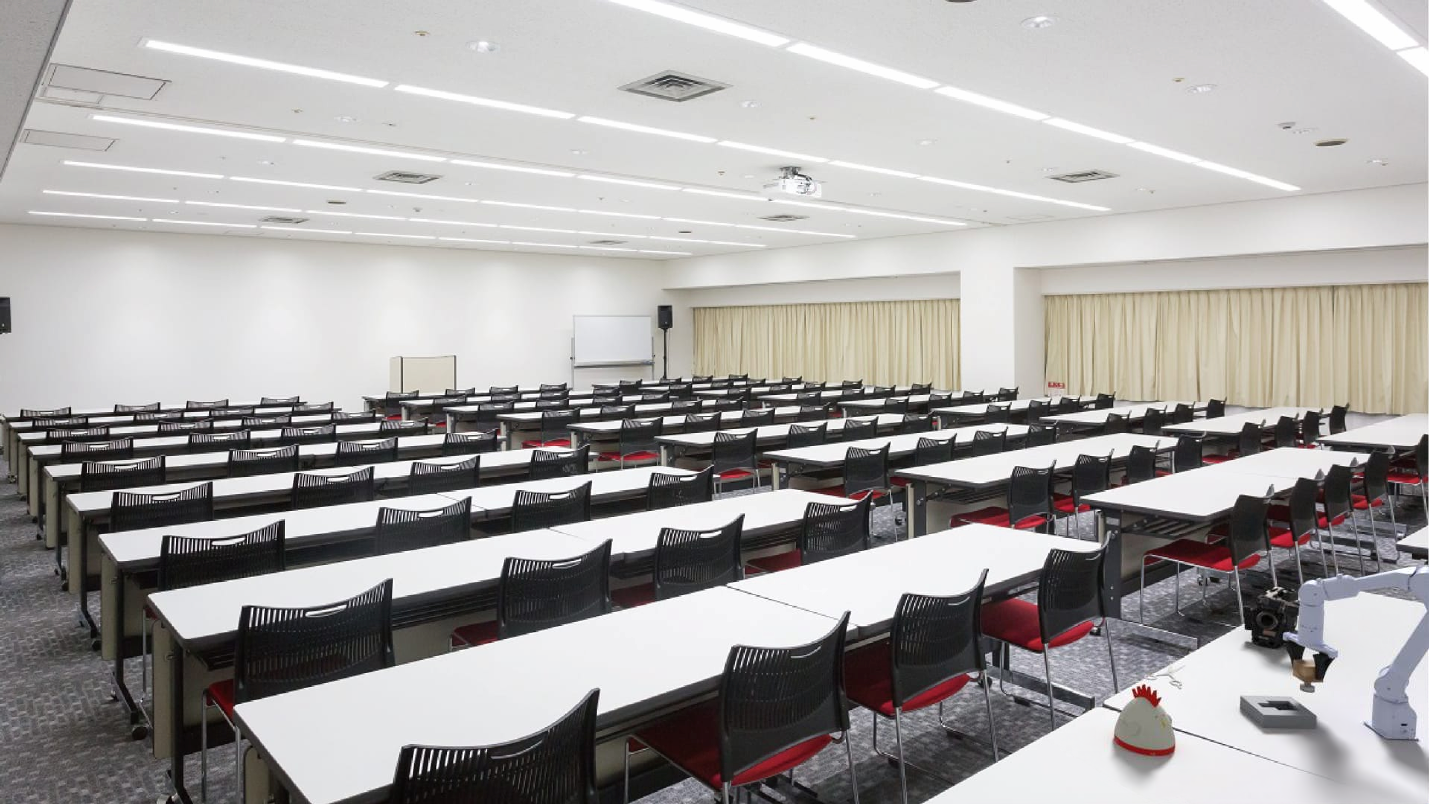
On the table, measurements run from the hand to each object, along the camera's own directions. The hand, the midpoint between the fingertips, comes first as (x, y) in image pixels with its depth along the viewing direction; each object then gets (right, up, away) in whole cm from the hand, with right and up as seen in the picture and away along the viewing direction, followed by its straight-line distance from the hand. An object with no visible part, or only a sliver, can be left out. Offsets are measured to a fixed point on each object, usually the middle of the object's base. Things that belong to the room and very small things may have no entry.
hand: (1308, 674), depth 244 cm
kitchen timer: (-52, -12, -17) cm, 56 cm away
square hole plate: (-11, -10, -4) cm, 15 cm away
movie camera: (+26, -5, +54) cm, 60 cm away
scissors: (-24, -8, +26) cm, 37 cm away
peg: (0, -4, 0) cm, 4 cm away
